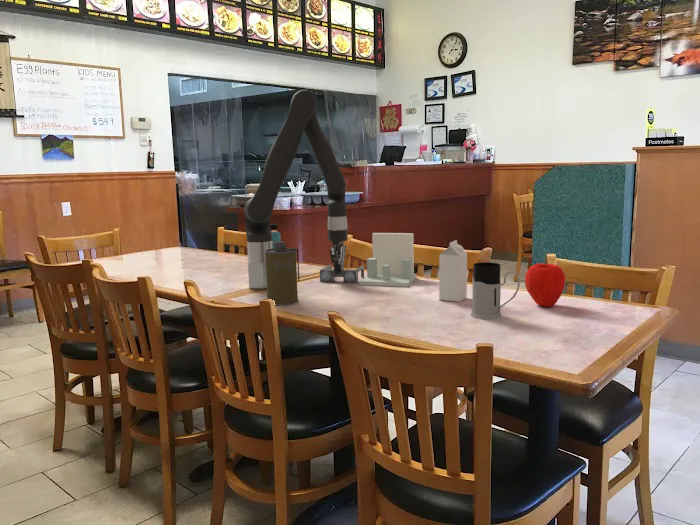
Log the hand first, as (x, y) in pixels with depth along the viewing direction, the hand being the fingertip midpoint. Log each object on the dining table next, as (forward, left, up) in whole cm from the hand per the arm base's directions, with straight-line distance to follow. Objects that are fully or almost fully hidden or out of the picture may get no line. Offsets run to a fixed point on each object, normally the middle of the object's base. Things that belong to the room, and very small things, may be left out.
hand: (338, 272), depth 219 cm
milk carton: (-22, -46, -4) cm, 51 cm away
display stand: (+3, -19, -3) cm, 20 cm away
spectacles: (+4, 0, -3) cm, 6 cm away
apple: (-26, -74, -4) cm, 79 cm away
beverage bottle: (+21, +36, -4) cm, 42 cm away
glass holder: (-42, -60, -4) cm, 73 cm away
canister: (-36, +8, -4) cm, 37 cm away
